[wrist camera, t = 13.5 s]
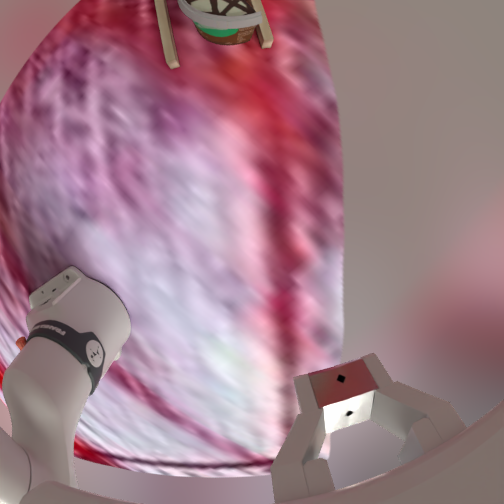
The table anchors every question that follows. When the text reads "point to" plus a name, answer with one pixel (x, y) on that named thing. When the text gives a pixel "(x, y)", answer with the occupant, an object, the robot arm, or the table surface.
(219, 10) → the food container
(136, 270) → the table surface
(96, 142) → the table surface
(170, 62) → the wooden u-shaped frame
